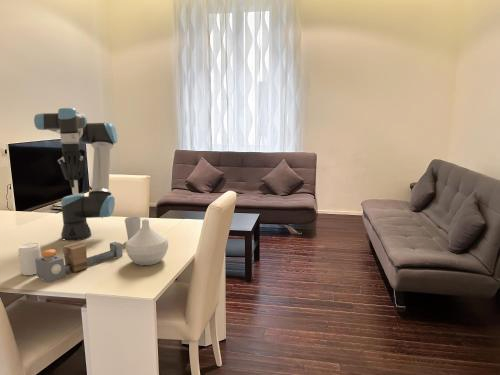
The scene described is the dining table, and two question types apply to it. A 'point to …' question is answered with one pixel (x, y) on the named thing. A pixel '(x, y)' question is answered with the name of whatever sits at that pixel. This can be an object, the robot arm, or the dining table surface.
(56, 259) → the housing
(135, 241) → the vase
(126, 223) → the cup
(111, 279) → the dining table surface
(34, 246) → the beverage can
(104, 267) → the dining table surface
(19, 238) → the dining table surface
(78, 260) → the carriage
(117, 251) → the rail
